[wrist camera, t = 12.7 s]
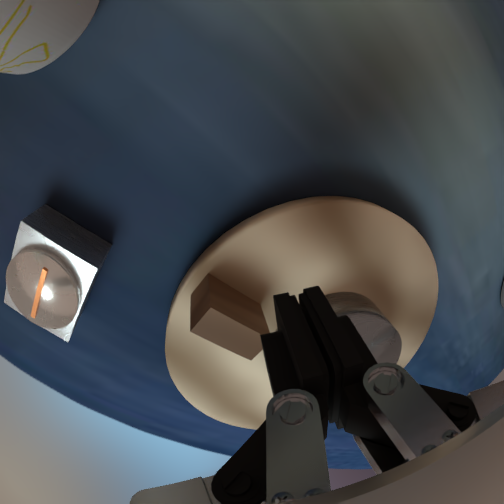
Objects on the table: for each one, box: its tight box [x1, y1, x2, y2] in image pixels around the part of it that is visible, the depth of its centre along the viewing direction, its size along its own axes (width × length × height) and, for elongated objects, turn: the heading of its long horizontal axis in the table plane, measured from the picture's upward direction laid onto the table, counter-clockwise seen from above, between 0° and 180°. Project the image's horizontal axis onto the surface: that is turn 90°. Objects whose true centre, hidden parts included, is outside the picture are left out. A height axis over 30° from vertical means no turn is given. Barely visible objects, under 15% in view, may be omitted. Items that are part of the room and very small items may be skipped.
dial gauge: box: [4, 204, 112, 342], centre depth 14 cm, size 6×5×4 cm
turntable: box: [165, 196, 438, 429], centre depth 18 cm, size 20×20×4 cm
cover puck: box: [275, 292, 402, 364], centre depth 17 cm, size 8×8×3 cm
